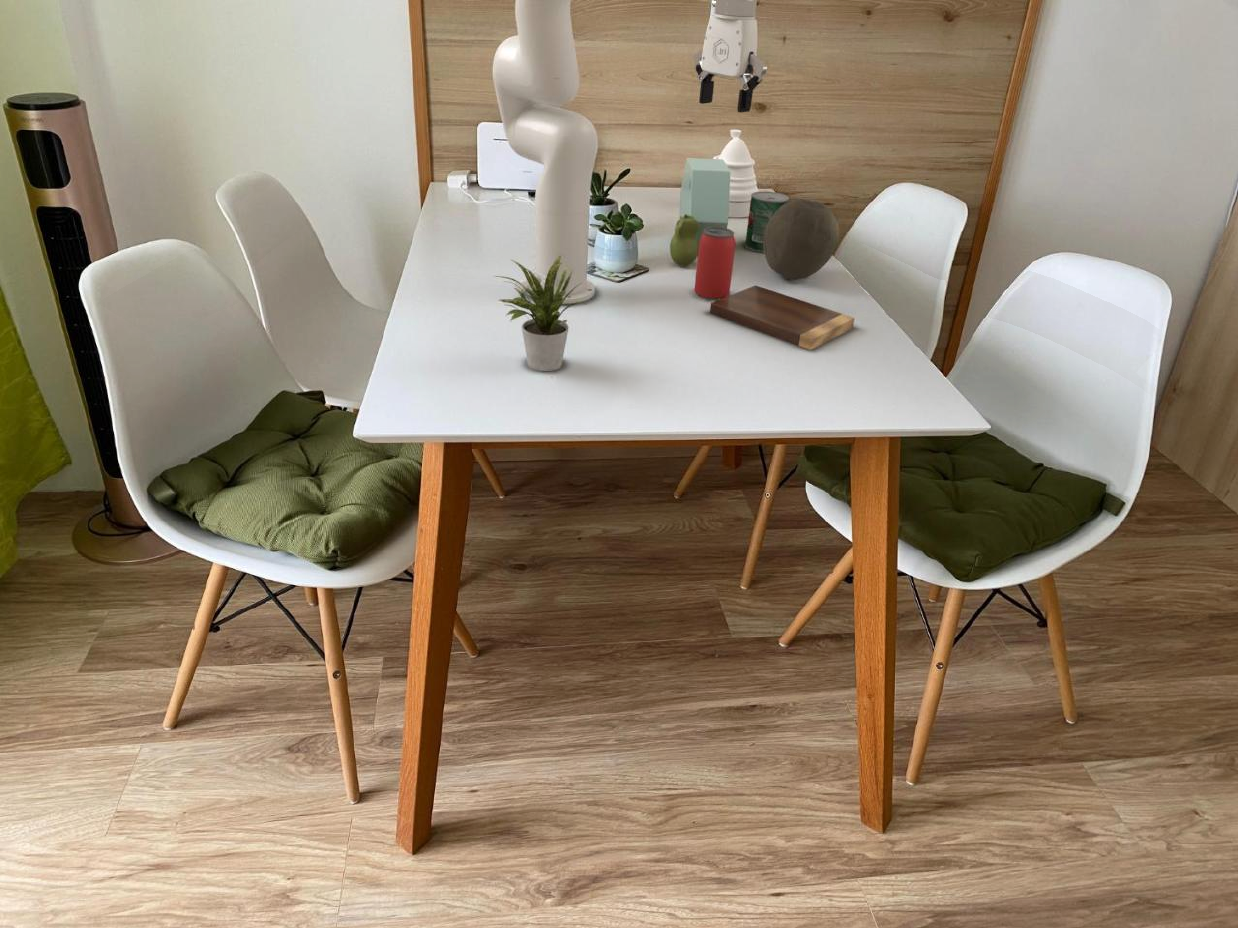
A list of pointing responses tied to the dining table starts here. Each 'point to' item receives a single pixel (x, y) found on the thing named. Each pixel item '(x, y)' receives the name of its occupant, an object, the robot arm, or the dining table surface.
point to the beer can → (715, 263)
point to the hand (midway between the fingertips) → (724, 107)
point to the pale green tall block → (705, 193)
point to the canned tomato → (761, 216)
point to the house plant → (543, 318)
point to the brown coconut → (800, 238)
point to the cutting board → (782, 316)
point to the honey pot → (739, 175)
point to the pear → (685, 241)
